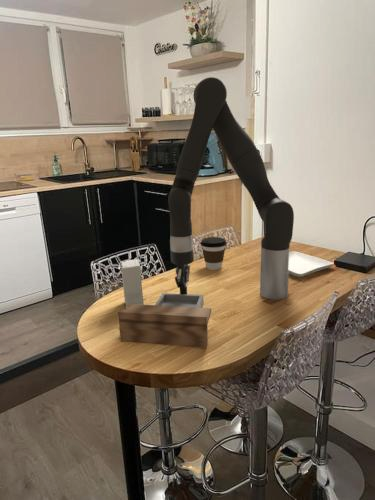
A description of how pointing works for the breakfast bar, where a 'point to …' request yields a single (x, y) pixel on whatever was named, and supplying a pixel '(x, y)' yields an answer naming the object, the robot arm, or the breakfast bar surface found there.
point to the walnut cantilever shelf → (164, 325)
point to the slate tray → (180, 300)
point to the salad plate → (305, 264)
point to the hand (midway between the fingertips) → (183, 296)
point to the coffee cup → (213, 252)
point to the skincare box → (132, 282)
